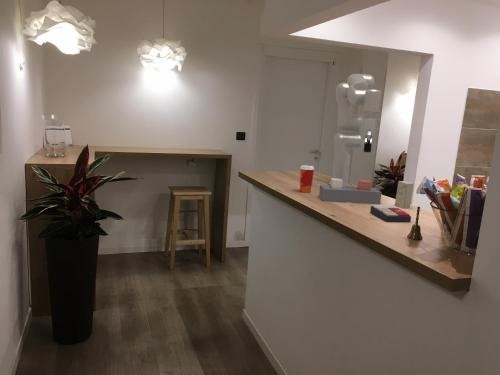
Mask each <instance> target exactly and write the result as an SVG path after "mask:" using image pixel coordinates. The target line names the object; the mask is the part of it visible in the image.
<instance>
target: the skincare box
mask: <svg viewBox="0 0 500 375" xmlns="http://www.w3.org/2000/svg"><path fill="white" fill-rule="evenodd" d="M414 185H415V184H414V183H413V182H409V181H405V180H398V182H397V187H396V188H397V189H396V195H395V202H394V207H397V208H401V209H410V208H411V203H412V198H413V191H414Z"/></svg>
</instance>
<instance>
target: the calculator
mask: <svg viewBox="0 0 500 375" xmlns="http://www.w3.org/2000/svg"><path fill="white" fill-rule="evenodd" d="M369 213H370V214H371V215H373V216H374V217H377V218H378V219H380V220H381V221H383V222H385V223H411V220H412V216H411V214H410V213H408V212H406V211H404V210H402V208H401V209H400V207H397V206H395V205H380V204H372V205H371V206H370V210H369Z"/></svg>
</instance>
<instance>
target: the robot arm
mask: <svg viewBox="0 0 500 375" xmlns="http://www.w3.org/2000/svg"><path fill="white" fill-rule="evenodd" d="M374 86H375V78H374V76H373V75H371V74H368V73H367V74H366V73H352V74H350V75H349V76H348V77H347V79H346V82H341V83H338V84H337V85H336V88H335V100H336V103H337V121H336V122H337V123H336V124H337V128H338V130H341V131H348V132H337V133H336V134H335V135H334V139H333V144H334V145H333V146H334V148H333V149H334V150H333V151H334V154H333V163H332V173H331V174H332V175H331V178H335V179H342V180H343V185H342V186H351V184H350V183H349V176H350V175H349V174H350V167H351V166H350V165H351V164H350V163H351V154H350V153H349V152H348V150H353V151H354V150H357V151H359V150H362V149H363V152H364V153H372V140H374V136H375V132H376V122H377V120H379V118H380V111H381V110H380V109H381V108H380V107H381V100H382V90H380V89H374ZM354 106H363V111H362V115H361V114H353V109H354ZM352 132H355V133H352ZM330 182H331V181H329V182H328V185H329V184H330Z"/></svg>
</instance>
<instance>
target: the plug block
mask: <svg viewBox="0 0 500 375" xmlns="http://www.w3.org/2000/svg"><path fill="white" fill-rule="evenodd" d="M318 197H319V198H320V199H321V200H322V202H332V203H333V202H334V203H347V202H351V203H352V204H368V205H370V204H371V205H381V200H382V191H380V190H379V189H377V188H376V187H371V188H370V191H368V190H359V189H358V186H351V185H350V186H342V189H333V188H330V185H329V184H320V185H319V194H318Z"/></svg>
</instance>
